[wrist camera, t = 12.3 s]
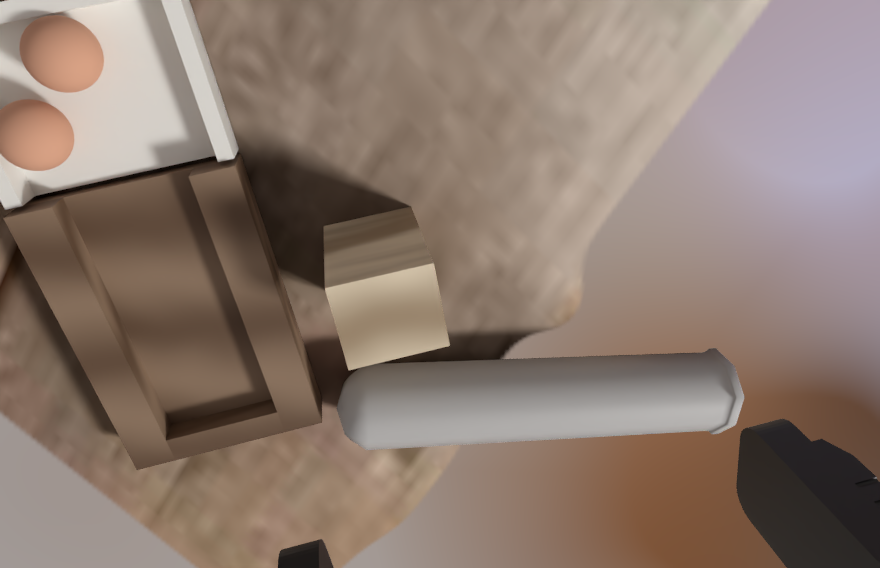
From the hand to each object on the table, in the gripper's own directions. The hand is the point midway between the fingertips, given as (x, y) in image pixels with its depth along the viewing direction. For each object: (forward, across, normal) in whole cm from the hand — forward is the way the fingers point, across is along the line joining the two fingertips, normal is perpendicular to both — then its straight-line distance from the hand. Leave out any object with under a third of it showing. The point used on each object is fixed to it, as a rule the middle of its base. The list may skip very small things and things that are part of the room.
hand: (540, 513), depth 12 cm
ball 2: (+24, +15, -6) cm, 29 cm away
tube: (+26, -6, +17) cm, 31 cm away
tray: (+26, +13, -6) cm, 30 cm away
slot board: (+26, +13, +7) cm, 29 cm away
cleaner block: (+26, +2, +6) cm, 26 cm away
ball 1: (+25, +13, -8) cm, 30 cm away
